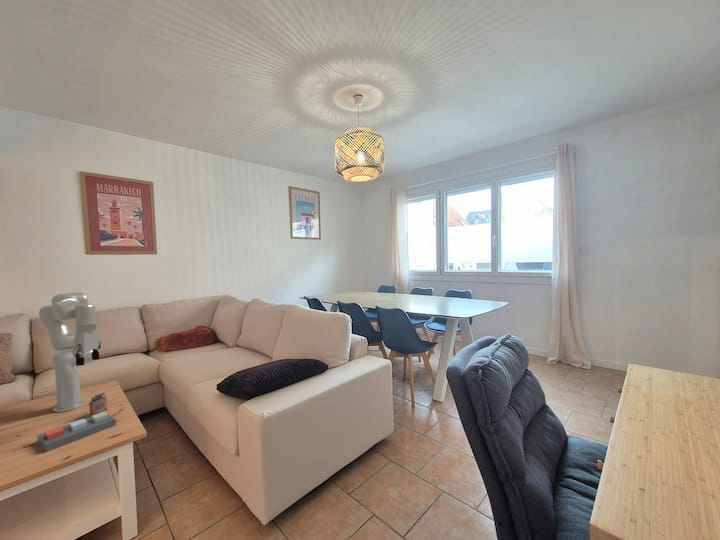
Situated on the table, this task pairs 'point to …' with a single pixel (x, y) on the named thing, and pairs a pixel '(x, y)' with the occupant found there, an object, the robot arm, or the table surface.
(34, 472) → the table surface
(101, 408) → the lighter
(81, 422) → the bluegrey button
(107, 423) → the button panel
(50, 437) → the red button
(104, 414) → the sage button
